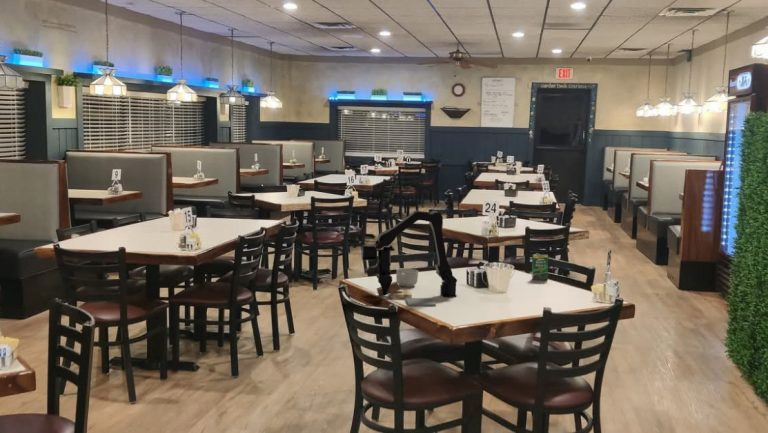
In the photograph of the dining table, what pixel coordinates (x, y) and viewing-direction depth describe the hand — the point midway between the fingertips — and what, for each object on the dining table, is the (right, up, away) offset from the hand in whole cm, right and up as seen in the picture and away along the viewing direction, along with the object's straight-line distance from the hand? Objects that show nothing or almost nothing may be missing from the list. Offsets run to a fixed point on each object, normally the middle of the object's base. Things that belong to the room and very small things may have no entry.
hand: (383, 293), depth 343 cm
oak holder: (+8, -1, +1) cm, 8 cm away
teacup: (+11, +1, +23) cm, 25 cm away
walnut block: (+2, +2, 0) cm, 3 cm away
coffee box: (+81, +2, +45) cm, 93 cm away
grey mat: (+16, -3, -12) cm, 20 cm away
